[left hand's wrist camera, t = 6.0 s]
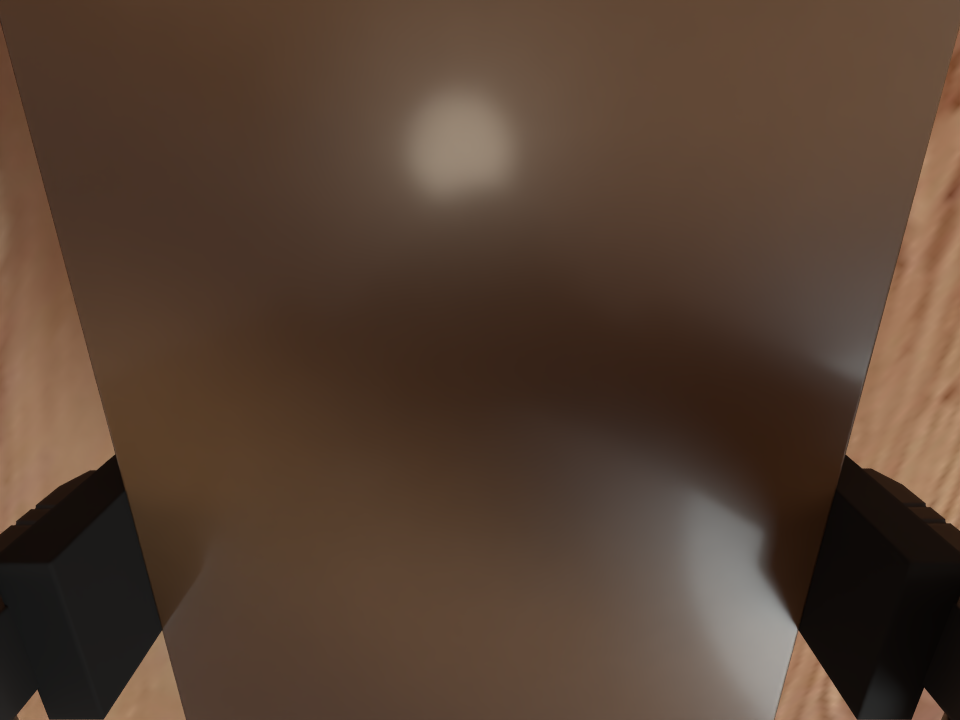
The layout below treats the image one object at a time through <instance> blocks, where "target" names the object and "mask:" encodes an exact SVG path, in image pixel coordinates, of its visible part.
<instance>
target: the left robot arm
mask: <svg viewBox="0 0 960 720" xmlns="http://www.w3.org/2000/svg"><path fill="white" fill-rule="evenodd" d="M161 631H162V627H161V623H160V620H159V616H158V612H157V608H156V604H155V601H154V597H153V593H152V589H151V586H150V582H149V578H148V574H147V571H146V567H145V563H144V559H143V556H142V552H141V548H140V544H139V541H138V537H137V533H136V529H135V525H134V522H133V518H132V514H131V510H130V507H129V503H128V499H127V495H126V492H125V488H124V484H123V480H122V477H121V473H120V469H119V465H118V462H117V458H116V454H115V455H114V456H113V457H112V458H111V459H109V460H108V461H107V462H106V463H105V464H103V465H102V466H101V467H100V468H99V469H98V470H90V471H88V472H86V473H84V474H82V475H80V476H78V477H76V478H75V479H73V480H71V481H69V482H67V483H65V484H63V485H61V486H59V487H58V488H57V489H55V490H54V491H53V492H52V493H50V494H49V495H48V496H47V497H46V498H44V499H43V500H42V501H41V502H39V503H38V504H37V505H36V508H35V509H31V510H30V511H28V512H27V513H26V514H25V515H23V516H22V517H21V518H20V519H19V520H17V521H16V525H11V526H10V527H9V528H7V529H6V530H5V531H4V532H3V533H1V534H0V720H19V719H18V717H17V714H18V713H19V711H20V710H21V709H22V708H23V706H24V705H25V704H26V703H27V702H28V700H29V699H30V698H31V697H32V695H33V694H34V693H35V692H36V690H37V689H38V692H39V695H40V697H41V700H42V702H43V705H44V707H45V710H46V712H47V715H48V717H49V720H104V718H105V717H106V715H107V713H108V712H109V710H110V709H111V707H112V706H113V704H114V703H115V701H116V700H117V698H118V697H119V695H120V694H121V692H122V691H123V689H124V687H125V686H126V684H127V683H128V681H129V680H130V678H131V677H132V675H133V674H134V672H135V671H136V669H137V668H138V666H139V665H140V663H141V662H142V660H143V658H144V657H145V655H146V654H147V652H148V651H149V649H150V648H151V646H152V645H153V643H154V642H155V640H156V639H157V637H158V636H159V634H160V632H161ZM799 632H800V633H801V635H802V636H803V638H804V639H805V641H806V642H807V644H808V645H809V647H810V648H811V650H812V651H813V653H814V654H815V656H816V658H817V659H818V661H819V662H820V664H821V665H822V667H823V668H824V670H825V671H826V673H827V674H828V676H829V677H830V679H831V680H832V682H833V684H834V685H835V687H836V688H837V690H838V691H839V693H840V694H841V696H842V697H843V699H844V700H845V702H846V703H847V705H848V706H849V708H850V710H851V711H852V713H853V714H854V716H855V717H856V719H857V720H911V719H912V717H913V714H914V712H915V709H916V707H917V704H918V702H919V699H920V697H921V694H922V692H923V689H924V688H925V689H926V690H927V691H928V693H929V694H930V695H931V696H932V697H933V699H934V700H935V701H936V702H937V704H938V705H939V706H940V707H941V709H942V710H943V711H944V715H943V717H942V719H941V720H960V531H959V530H958V529H957V528H955V527H954V526H953V525H952V524H951V523H946V522H945V519H944V518H943V517H942V516H941V515H939V514H938V513H937V512H936V511H934V510H933V509H932V508H931V507H926V503H924V502H923V501H922V500H921V499H920V498H918V497H917V496H916V495H915V494H913V493H912V492H911V491H910V490H908V489H907V488H906V487H905V486H903V485H902V484H900V483H898V482H896V481H894V480H892V479H890V478H889V477H887V476H885V475H883V474H881V473H879V472H877V471H875V470H873V469H862V468H861V467H860V466H858V465H857V464H856V463H855V462H854V461H852V460H851V459H850V458H849V457H848V456H847V455H845V457H844V461H843V465H842V469H841V472H840V476H839V480H838V484H837V487H836V491H835V495H834V499H833V502H832V506H831V510H830V513H829V517H828V521H827V525H826V528H825V532H824V536H823V540H822V543H821V547H820V551H819V555H818V558H817V562H816V566H815V570H814V573H813V577H812V581H811V585H810V588H809V592H808V596H807V600H806V603H805V607H804V611H803V615H802V618H801V622H800V626H799Z"/></svg>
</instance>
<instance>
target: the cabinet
mask: <svg viewBox="0 0 960 720" xmlns="http://www.w3.org/2000/svg"><path fill="white" fill-rule="evenodd" d="M0 22H1V25H2V29H3V33H4V37H5V40H6V44H7V48H8V52H9V55H10V59H11V63H12V67H13V70H14V74H15V78H16V82H17V86H18V89H19V93H20V97H21V101H22V104H23V108H24V112H25V116H26V119H27V123H28V127H29V131H30V134H31V138H32V142H33V146H34V149H35V153H36V157H37V161H38V164H39V168H40V172H41V176H42V180H43V183H44V187H45V191H46V195H47V198H48V202H49V206H50V210H51V213H52V217H53V221H54V225H55V228H56V232H57V236H58V240H59V243H60V247H61V251H62V255H63V258H64V262H65V266H66V270H67V274H68V277H69V281H70V285H71V289H72V292H73V296H74V300H75V304H76V307H77V311H78V315H79V319H80V322H81V326H82V330H83V334H84V337H85V341H86V345H87V349H88V353H89V356H90V360H91V364H92V368H93V371H94V375H95V379H96V383H97V386H98V390H99V394H100V398H101V401H102V405H103V409H104V413H105V416H106V420H107V424H108V428H109V431H110V435H111V439H112V443H113V447H114V450H115V454H116V458H117V462H118V465H119V469H120V473H121V477H122V480H123V484H124V488H125V492H126V495H127V499H128V503H129V507H130V510H131V514H132V518H133V522H134V525H135V529H136V533H137V537H138V541H139V544H140V548H141V552H142V556H143V559H144V563H145V567H146V571H147V574H148V578H149V582H150V586H151V589H152V593H153V597H154V601H155V604H156V608H157V612H158V616H159V620H160V623H161V627H162V631H163V635H164V638H165V642H166V646H167V650H168V653H169V657H170V661H171V665H172V668H173V672H174V676H175V680H176V683H177V687H178V691H179V695H180V698H181V702H182V706H183V710H184V714H185V717H186V720H774V719H775V716H776V712H777V708H778V704H779V701H780V697H781V693H782V690H783V686H784V682H785V678H786V675H787V671H788V667H789V663H790V660H791V656H792V652H793V648H794V645H795V641H796V637H797V633H798V630H799V626H800V622H801V618H802V615H803V611H804V607H805V603H806V600H807V596H808V592H809V588H810V585H811V581H812V577H813V573H814V570H815V566H816V562H817V558H818V555H819V551H820V547H821V543H822V540H823V536H824V532H825V528H826V525H827V521H828V517H829V513H830V510H831V506H832V502H833V499H834V495H835V491H836V487H837V484H838V480H839V476H840V472H841V469H842V465H843V461H844V457H845V454H846V450H847V446H848V442H849V439H850V435H851V431H852V427H853V424H854V420H855V416H856V412H857V409H858V405H859V401H860V397H861V394H862V390H863V386H864V382H865V379H866V375H867V371H868V367H869V364H870V360H871V356H872V352H873V349H874V345H875V341H876V337H877V334H878V330H879V326H880V322H881V319H882V315H883V311H884V308H885V304H886V300H887V296H888V293H889V289H890V285H891V281H892V278H893V274H894V270H895V266H896V263H897V259H898V255H899V251H900V248H901V244H902V240H903V236H904V233H905V229H906V225H907V221H908V218H909V214H910V210H911V206H912V203H913V199H914V195H915V191H916V188H917V184H918V180H919V176H920V173H921V169H922V165H923V161H924V158H925V154H926V150H927V146H928V143H929V139H930V135H931V131H932V128H933V124H934V120H935V117H936V113H937V109H938V105H939V102H940V98H941V94H942V90H943V87H944V83H945V79H946V75H947V72H948V68H949V64H950V60H951V57H952V53H953V49H954V45H955V42H956V38H957V34H958V30H959V27H960V0H0Z"/></svg>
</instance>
